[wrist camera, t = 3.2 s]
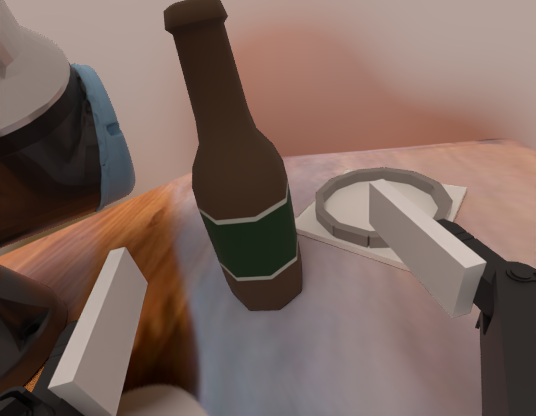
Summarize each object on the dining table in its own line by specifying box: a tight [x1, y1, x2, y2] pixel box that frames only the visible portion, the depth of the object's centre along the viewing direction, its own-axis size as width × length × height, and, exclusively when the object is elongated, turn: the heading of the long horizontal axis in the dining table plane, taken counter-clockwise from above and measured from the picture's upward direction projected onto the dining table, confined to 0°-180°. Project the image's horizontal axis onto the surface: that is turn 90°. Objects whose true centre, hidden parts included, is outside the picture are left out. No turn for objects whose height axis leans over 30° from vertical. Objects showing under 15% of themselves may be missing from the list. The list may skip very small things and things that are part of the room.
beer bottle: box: [164, 0, 302, 311], centre depth 23 cm, size 8×8×24 cm
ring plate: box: [295, 167, 467, 272], centre depth 35 cm, size 16×16×2 cm
